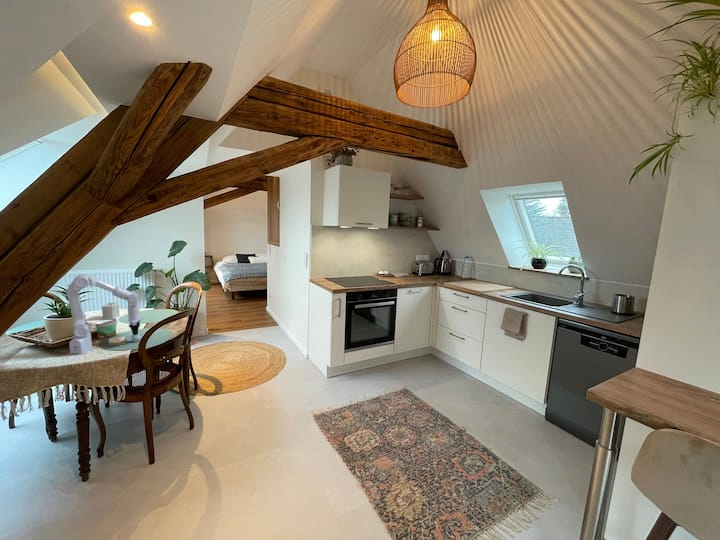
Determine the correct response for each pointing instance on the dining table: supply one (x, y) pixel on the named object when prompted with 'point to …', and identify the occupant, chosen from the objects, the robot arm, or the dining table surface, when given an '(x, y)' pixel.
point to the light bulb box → (110, 311)
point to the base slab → (117, 343)
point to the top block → (116, 339)
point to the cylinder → (135, 338)
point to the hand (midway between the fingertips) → (135, 332)
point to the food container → (106, 329)
